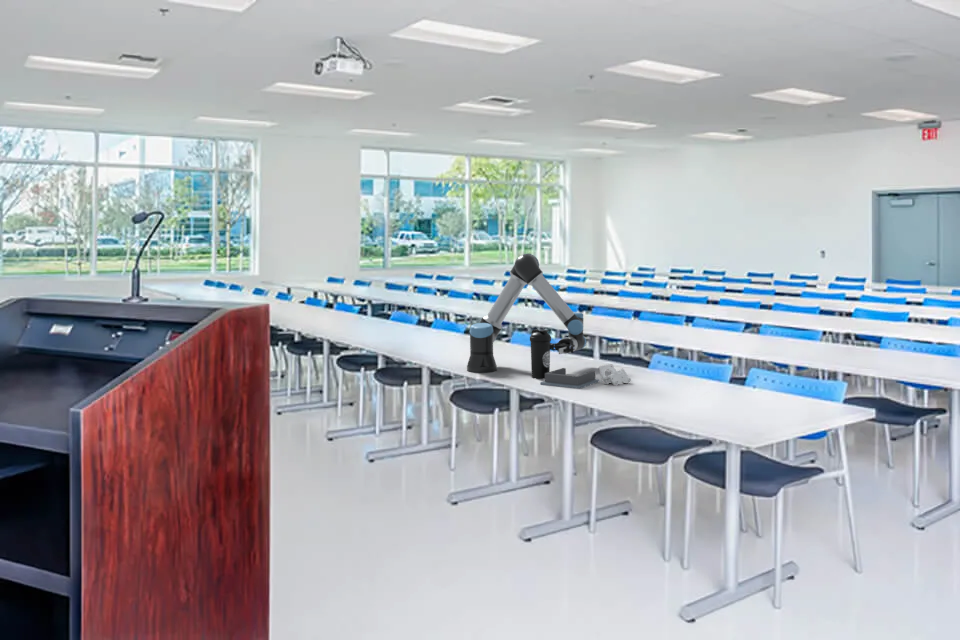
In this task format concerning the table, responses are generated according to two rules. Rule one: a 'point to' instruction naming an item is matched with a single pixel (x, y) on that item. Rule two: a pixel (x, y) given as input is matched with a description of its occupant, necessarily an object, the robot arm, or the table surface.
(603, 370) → the mounting bracket
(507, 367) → the table surface
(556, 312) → the robot arm
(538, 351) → the water bottle
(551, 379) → the walled base tray
